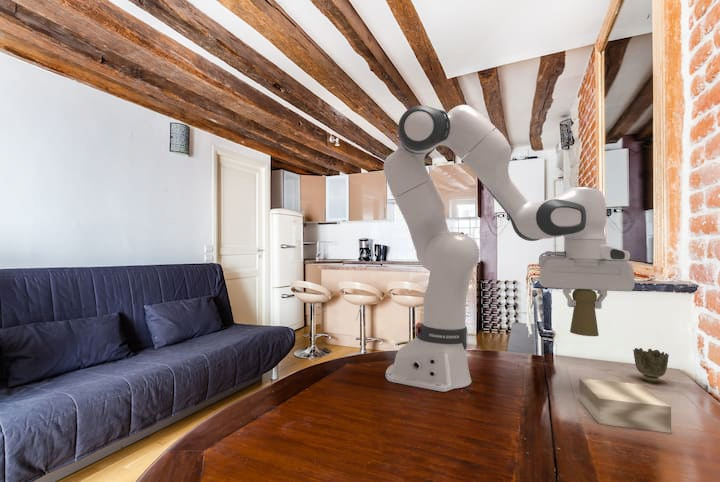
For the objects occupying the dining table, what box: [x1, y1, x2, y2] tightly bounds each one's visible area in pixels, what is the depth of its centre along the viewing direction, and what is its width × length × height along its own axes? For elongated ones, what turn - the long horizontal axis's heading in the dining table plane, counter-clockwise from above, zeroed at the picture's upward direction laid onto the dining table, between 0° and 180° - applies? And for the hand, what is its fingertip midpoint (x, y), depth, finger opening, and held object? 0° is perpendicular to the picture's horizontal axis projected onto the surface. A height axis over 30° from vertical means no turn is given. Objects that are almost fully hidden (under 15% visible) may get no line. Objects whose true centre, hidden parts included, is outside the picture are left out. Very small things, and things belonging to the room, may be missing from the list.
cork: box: [569, 289, 600, 337], centre depth 88 cm, size 6×6×11 cm
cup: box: [632, 347, 670, 384], centre depth 95 cm, size 8×7×8 cm
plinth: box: [578, 377, 672, 434], centre depth 75 cm, size 12×12×5 cm
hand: (584, 307), depth 88 cm, fingers closed on cork, 4 cm apart
